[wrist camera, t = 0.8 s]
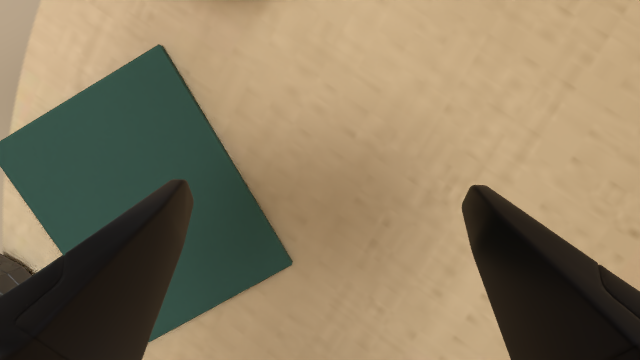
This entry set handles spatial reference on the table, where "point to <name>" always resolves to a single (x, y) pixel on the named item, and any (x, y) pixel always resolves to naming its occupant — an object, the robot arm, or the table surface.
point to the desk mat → (145, 181)
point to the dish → (11, 274)
